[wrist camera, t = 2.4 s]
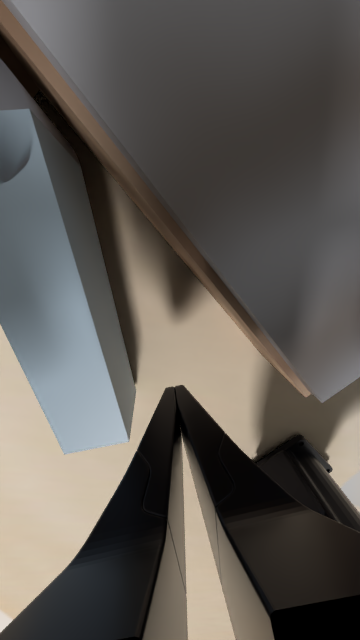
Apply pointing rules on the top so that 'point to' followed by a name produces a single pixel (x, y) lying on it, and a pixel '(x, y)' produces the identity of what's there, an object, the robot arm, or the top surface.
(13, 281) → the bar
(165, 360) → the top surface
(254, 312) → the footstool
